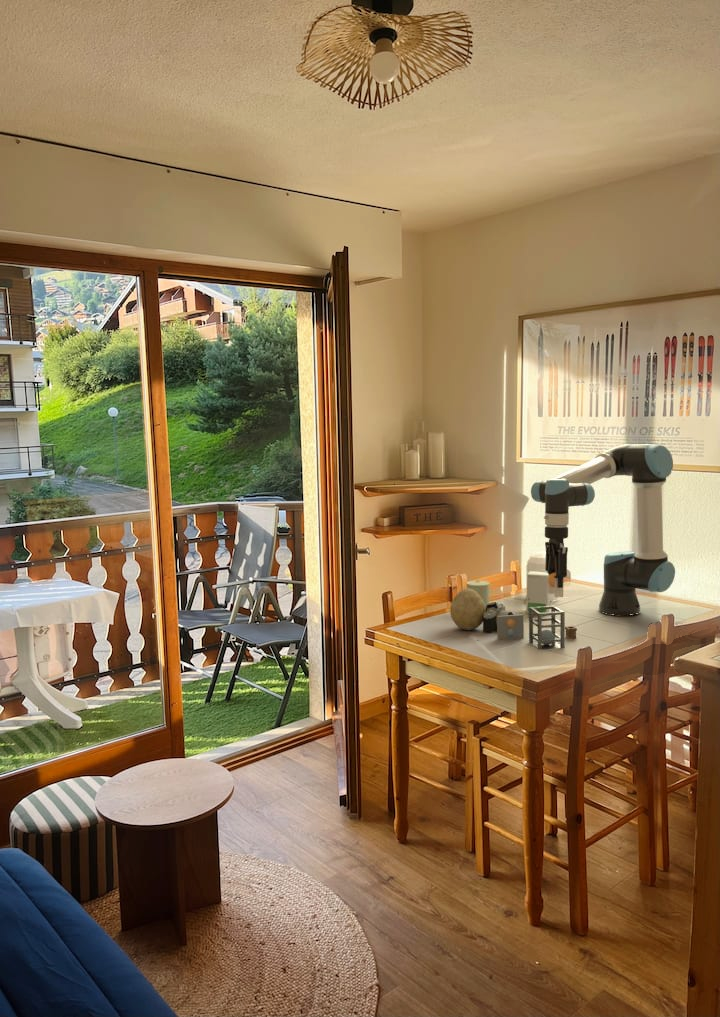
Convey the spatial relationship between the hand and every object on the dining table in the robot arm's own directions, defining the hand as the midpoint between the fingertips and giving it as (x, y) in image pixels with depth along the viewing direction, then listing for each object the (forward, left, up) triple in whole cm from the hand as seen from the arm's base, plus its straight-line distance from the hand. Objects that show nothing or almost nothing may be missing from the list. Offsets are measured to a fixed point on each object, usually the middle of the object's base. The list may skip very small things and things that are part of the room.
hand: (555, 595), depth 259 cm
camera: (+13, -21, -17) cm, 30 cm away
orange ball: (0, 0, +3) cm, 3 cm away
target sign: (+13, -8, -17) cm, 23 cm away
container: (-20, -63, -17) cm, 68 cm away
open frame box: (+4, +2, -17) cm, 17 cm away
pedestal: (-7, -4, -17) cm, 19 cm away
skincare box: (-10, -42, -17) cm, 46 cm away
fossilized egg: (+23, -25, -17) cm, 38 cm away
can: (+12, -49, -17) cm, 53 cm away
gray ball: (+4, +2, -16) cm, 17 cm away
